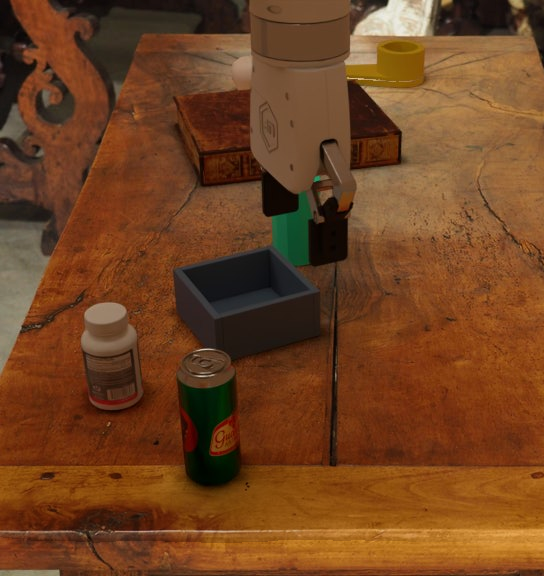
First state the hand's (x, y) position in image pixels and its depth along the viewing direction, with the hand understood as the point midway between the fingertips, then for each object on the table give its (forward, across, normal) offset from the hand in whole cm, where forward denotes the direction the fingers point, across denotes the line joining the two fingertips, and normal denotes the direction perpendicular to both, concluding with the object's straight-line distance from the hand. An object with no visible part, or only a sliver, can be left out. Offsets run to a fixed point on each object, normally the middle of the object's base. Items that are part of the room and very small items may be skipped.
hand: (303, 236), depth 89 cm
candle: (+22, -36, +14) cm, 44 cm away
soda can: (+22, 0, -9) cm, 24 cm away
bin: (+22, -23, +3) cm, 32 cm away
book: (+22, -69, +27) cm, 77 cm away
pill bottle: (+22, -16, -14) cm, 31 cm away
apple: (+22, -92, +31) cm, 100 cm away
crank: (+22, -90, +53) cm, 107 cm away
